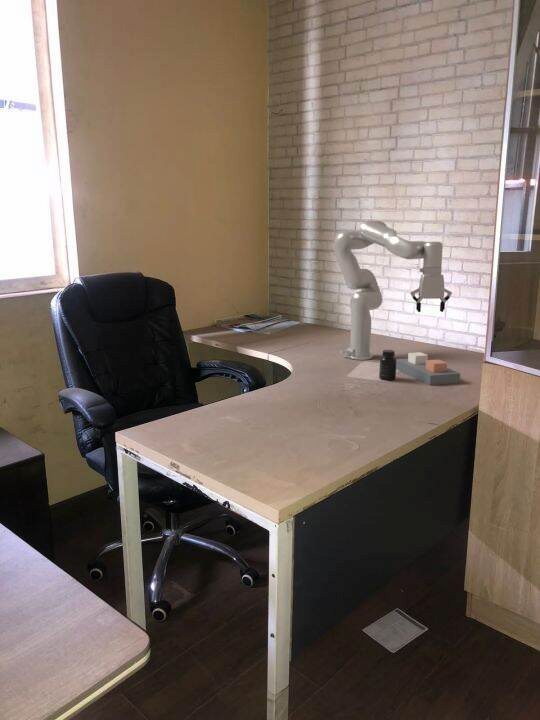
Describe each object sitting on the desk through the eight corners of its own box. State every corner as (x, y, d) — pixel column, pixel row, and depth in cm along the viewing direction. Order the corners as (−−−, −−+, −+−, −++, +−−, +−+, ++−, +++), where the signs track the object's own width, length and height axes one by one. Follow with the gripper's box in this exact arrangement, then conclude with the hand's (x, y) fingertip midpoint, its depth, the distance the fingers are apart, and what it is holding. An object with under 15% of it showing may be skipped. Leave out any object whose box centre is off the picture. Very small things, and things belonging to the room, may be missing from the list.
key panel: (429, 385, 233) (430, 375, 232) (394, 368, 258) (395, 359, 257) (459, 382, 237) (460, 373, 236) (422, 366, 263) (422, 357, 262)
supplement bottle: (385, 375, 246) (386, 348, 243) (398, 379, 241) (400, 351, 238) (375, 378, 241) (377, 350, 238) (389, 382, 236) (391, 353, 233)
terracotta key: (433, 375, 237) (434, 363, 236) (425, 372, 242) (426, 360, 241) (445, 374, 239) (446, 362, 237) (437, 371, 244) (438, 359, 243)
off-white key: (414, 367, 250) (415, 356, 249) (407, 364, 255) (408, 352, 254) (427, 366, 252) (427, 355, 250) (419, 363, 257) (420, 352, 256)
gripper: (413, 272, 241) (411, 313, 245) (455, 271, 241) (453, 312, 244) (409, 271, 248) (408, 310, 252) (450, 270, 248) (448, 310, 252)
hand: (430, 311), depth 248 cm, fingers open, 9 cm apart
